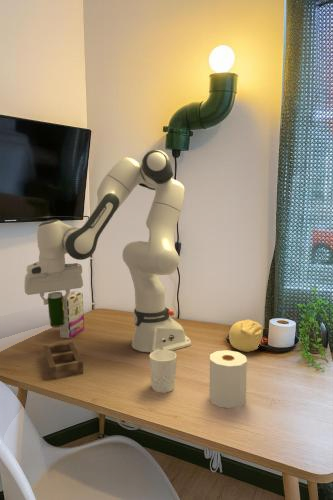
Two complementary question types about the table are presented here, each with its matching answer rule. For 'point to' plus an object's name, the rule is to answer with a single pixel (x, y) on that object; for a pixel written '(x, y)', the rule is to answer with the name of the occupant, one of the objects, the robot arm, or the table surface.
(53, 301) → the beer can
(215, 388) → the toilet paper
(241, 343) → the sculpture
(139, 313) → the robot arm
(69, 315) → the candy bar box
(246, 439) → the table surface
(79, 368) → the shelf
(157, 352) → the white cup
